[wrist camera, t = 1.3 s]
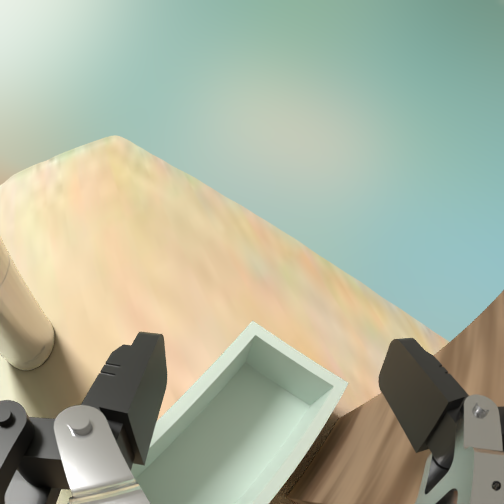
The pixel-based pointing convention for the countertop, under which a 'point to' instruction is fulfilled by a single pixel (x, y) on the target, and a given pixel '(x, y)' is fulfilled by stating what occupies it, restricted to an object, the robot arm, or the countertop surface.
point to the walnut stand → (400, 428)
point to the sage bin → (240, 425)
